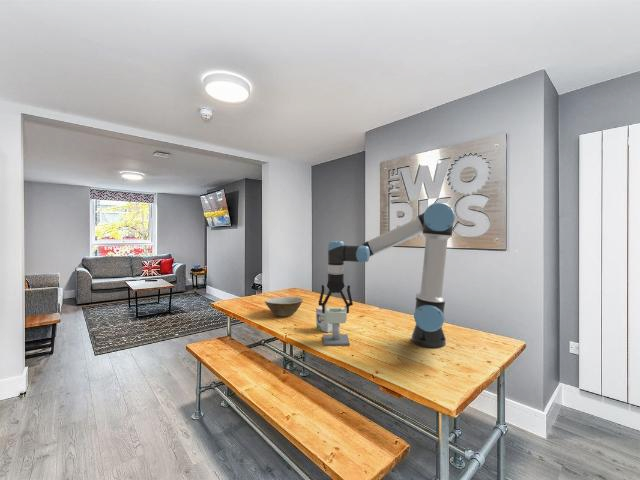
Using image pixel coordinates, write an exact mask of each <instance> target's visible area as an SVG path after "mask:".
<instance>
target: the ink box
mask: <svg viewBox="0 0 640 480" xmlns="http://www.w3.org/2000/svg"><path fill="white" fill-rule="evenodd" d="M326 308H329V307H327V306H326ZM315 316H316V317H315V321H316V322H315V323H316V330H318V331H321V332H325V333H331V332H332V323H326V321H325V313H322V306H319V307H315Z"/></svg>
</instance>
